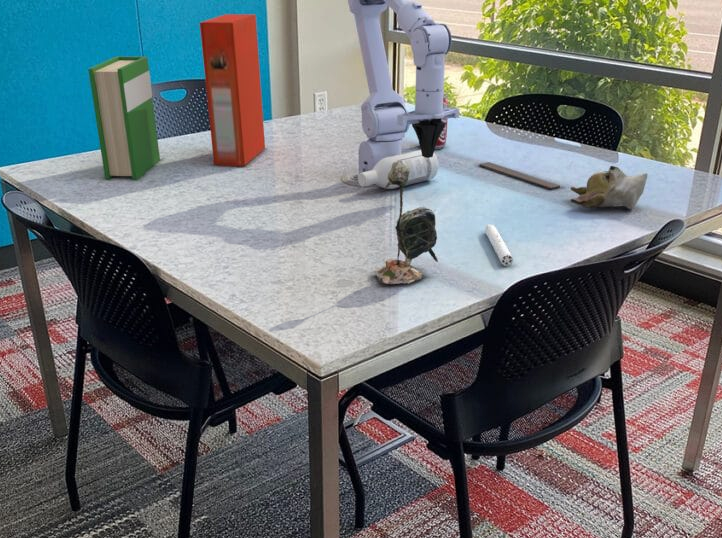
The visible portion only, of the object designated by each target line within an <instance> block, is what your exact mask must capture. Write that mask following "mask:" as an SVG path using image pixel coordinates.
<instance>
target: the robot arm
mask: <svg viewBox="0 0 722 538" xmlns="http://www.w3.org/2000/svg"><path fill="white" fill-rule="evenodd" d="M347 3H348V8H349V12H350V13H351V14H353V16H354V21H355V26H356V31H357V32H356V33H357V36H358V41H359V46H360V52H361V56H362V63H363V67H364V71H365V76H366V82H367V87H368V92H369V95H368V96H367V98H366V99H365V100H364V101H363V103H362V105H360V110H361V128H362V130H363V133H364V134H365V136H366V137H367V138H368V139H367V140H363V141H362V142H361V143H360V144H359V146H358V173H357V174H356V176H357V177H358V175H359V174H360V173H362V172H367V171H371V170H372V169H373V168H374V166H375V165H376V164H377V163H378V162H379V161H380V160H382V159H383V158H386V157H389V156H394V155H398V154H402V148H403V146H402V145H403V143H402V141H403V140H402V139H403V138H405V134H406V133H408V132H409V129H410V126H411V127H412V128H413V130H414V132H415V134H416V137H417V140H418V144H419V143H420V145H419V147H420V150H421V152H422V156H423V157H426V158H430V157H433V153H434V154H435V146H436V143H437V141H438V138H439V136H440V134H441V132H442V131H443V129H444V128H445V122H442V121H441V119H447V120H448V119H459V117H460V108H459V107H455V106H450V107H449V106H448V107H447V108H443V94H445V93H444V90H445V89H444V88H445V69H446V68H445V67H446V66H445V65H446V55H448V54H449V53H450V51H451V48H452V44H453V38H452V37H453V36H452V32H451V30H450V28H449V26H448V24H446V23H439V22H435V20H434V19H433V18H432V17H431V16H430V14H429V13H428V12H427V11H426V10H425V8H424V7H423V4H422V3H421V1H411V0H347ZM388 7H389V9H391V10H392V11H393V12H394V13H395V14H396V23H397V25H398V26H399V28H400V29H401V30H402V31H403V33H404V34H405V35H406V36H407V37H408V39H409V40H410V49H411V52H412V55H413V60H412V61H413V66H415V92H414V110H411V111H409V110H408V108H407V106H406V103H405V98H404V97H403V96H402V95H401V94H399V93H398V92H396V91H395V90H394V88H393V84H392V80H391V74H390V73H391V72H390V69H389V64H388V57H387V53H386V47H385V43H384V38H383V33H382V28H381V27H382V26H381V22H380V16H381V14H382V13H383V12H385V11H386V10H387V8H388Z"/></svg>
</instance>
